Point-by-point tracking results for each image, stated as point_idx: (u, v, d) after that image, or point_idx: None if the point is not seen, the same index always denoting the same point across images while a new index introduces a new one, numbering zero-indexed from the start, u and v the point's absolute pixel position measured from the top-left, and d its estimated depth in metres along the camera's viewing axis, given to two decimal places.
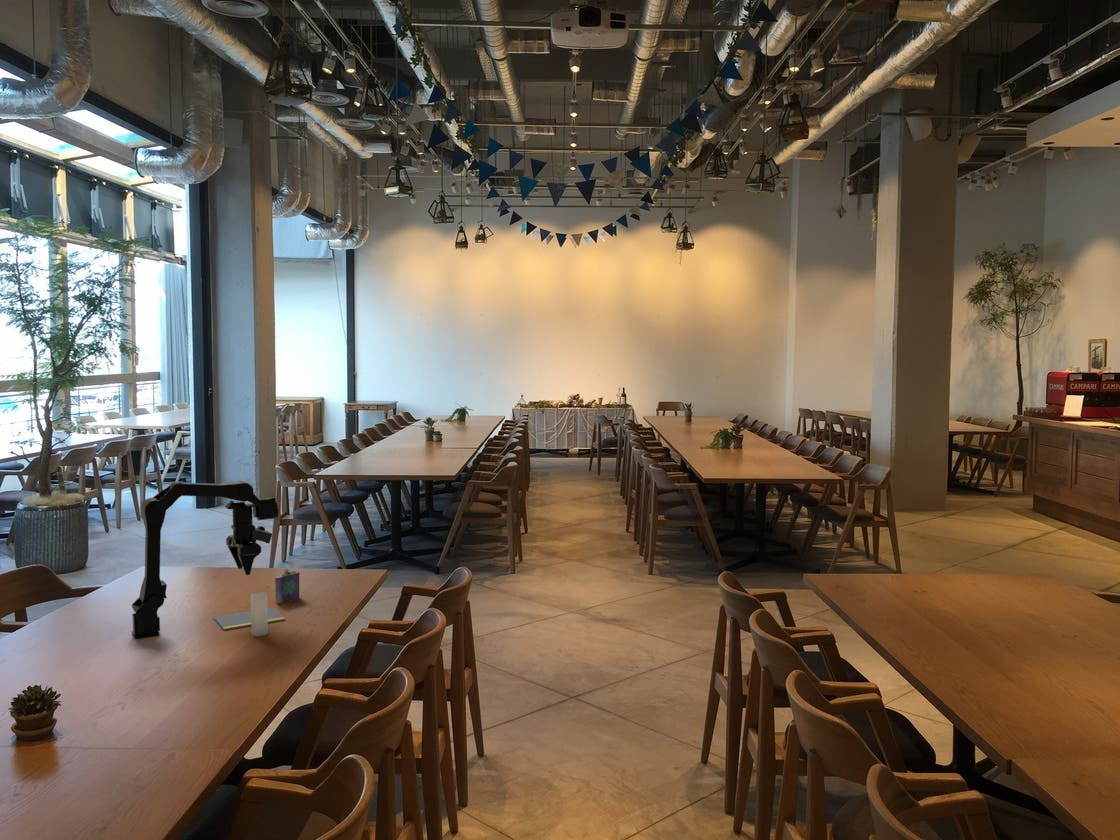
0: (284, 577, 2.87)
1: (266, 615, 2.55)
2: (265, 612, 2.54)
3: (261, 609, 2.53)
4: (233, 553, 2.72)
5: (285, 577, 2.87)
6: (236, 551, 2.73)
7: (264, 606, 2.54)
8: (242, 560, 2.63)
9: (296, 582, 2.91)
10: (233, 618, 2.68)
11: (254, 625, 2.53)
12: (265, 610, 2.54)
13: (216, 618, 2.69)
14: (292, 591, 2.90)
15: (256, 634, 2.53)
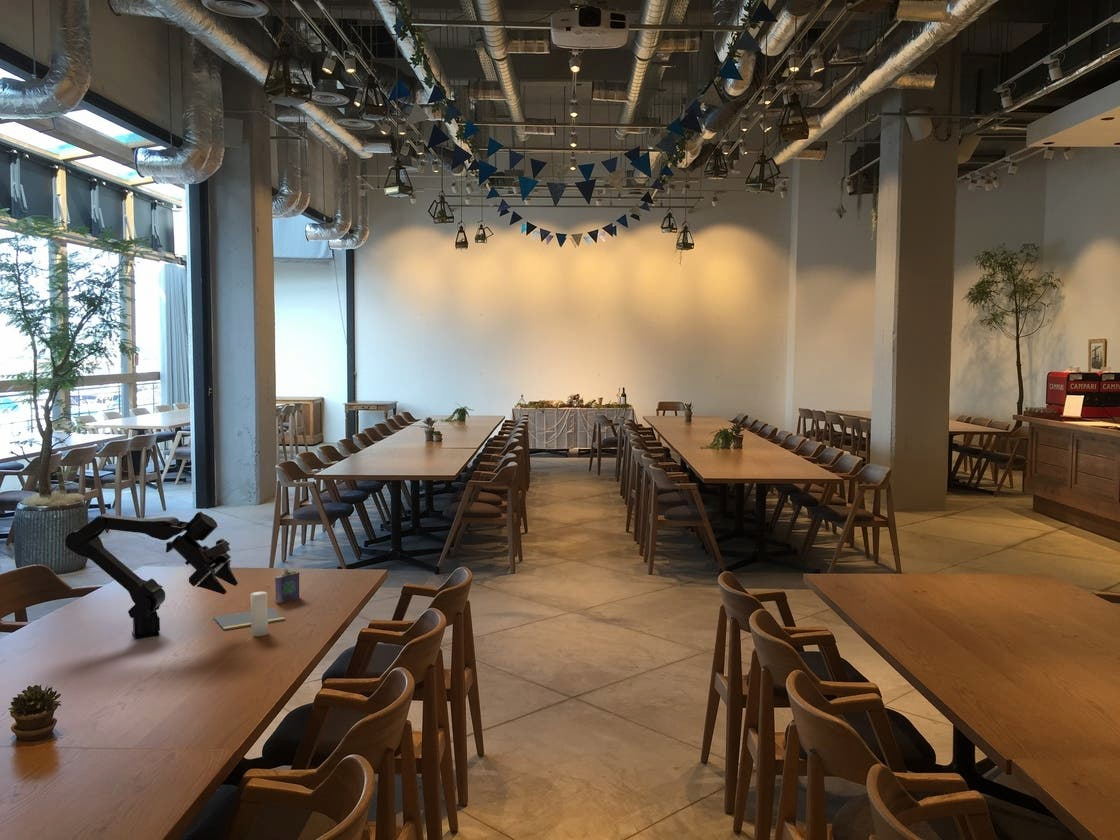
0: (284, 577, 2.87)
1: (266, 615, 2.55)
2: (265, 612, 2.54)
3: (261, 609, 2.53)
4: (220, 577, 2.59)
5: (285, 577, 2.87)
6: (221, 573, 2.59)
7: (264, 606, 2.54)
8: (205, 587, 2.48)
9: (296, 582, 2.91)
10: (233, 618, 2.68)
11: (254, 625, 2.53)
12: (265, 610, 2.54)
13: (216, 618, 2.69)
14: (292, 591, 2.90)
15: (256, 634, 2.53)
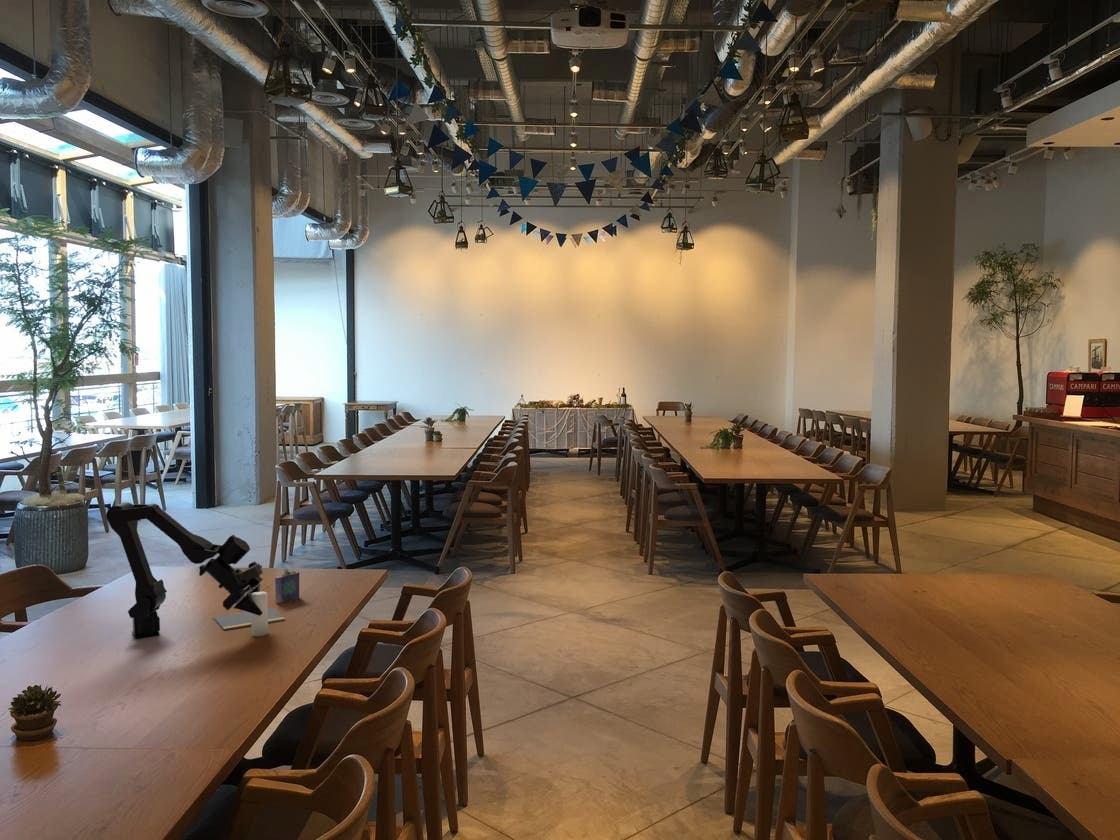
0: (284, 577, 2.87)
1: (266, 615, 2.55)
2: (265, 612, 2.54)
3: (261, 609, 2.53)
4: None
5: (285, 577, 2.87)
6: None
7: (264, 606, 2.54)
8: (241, 608, 2.51)
9: (296, 582, 2.91)
10: (233, 618, 2.68)
11: (254, 625, 2.53)
12: (265, 610, 2.54)
13: (216, 618, 2.69)
14: (292, 591, 2.90)
15: (256, 634, 2.53)
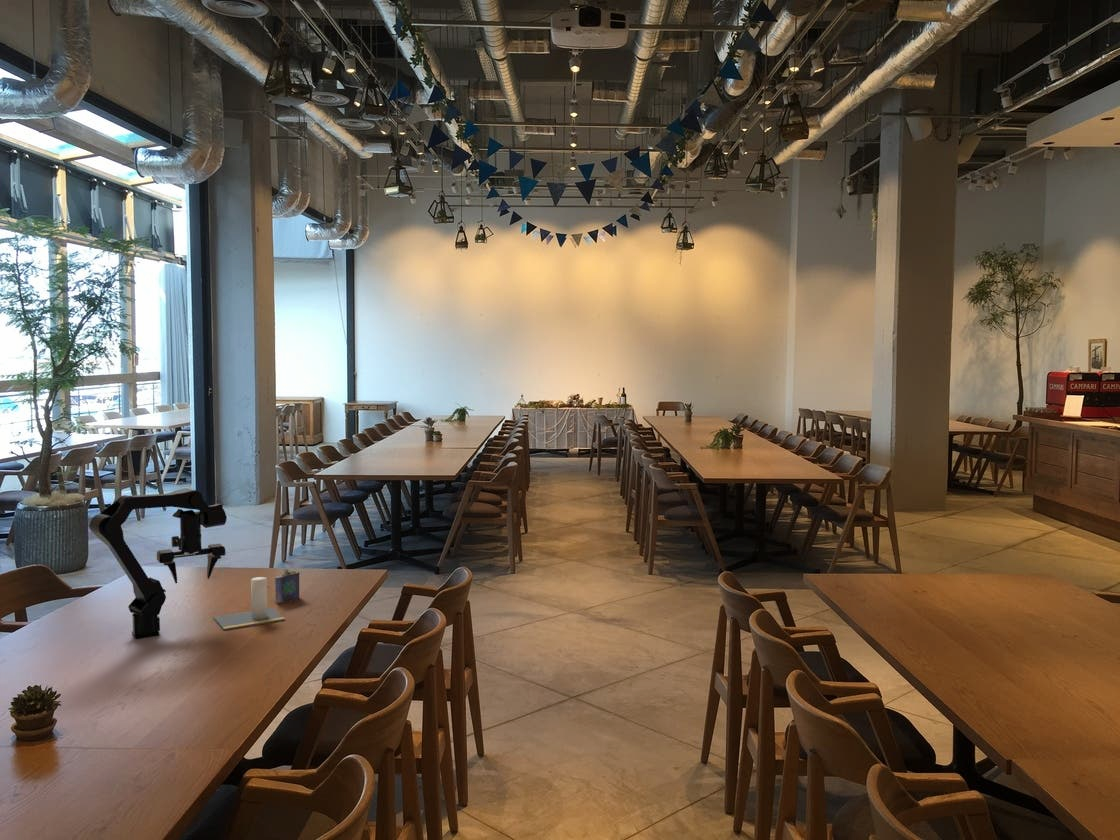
0: (284, 577, 2.87)
1: None
2: (266, 595, 2.70)
3: (264, 593, 2.68)
4: (175, 568, 2.60)
5: (285, 577, 2.87)
6: None
7: (266, 590, 2.69)
8: None
9: (296, 582, 2.91)
10: (233, 618, 2.68)
11: (257, 608, 2.68)
12: (266, 593, 2.70)
13: (216, 618, 2.69)
14: (292, 591, 2.90)
15: (260, 617, 2.68)
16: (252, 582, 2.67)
